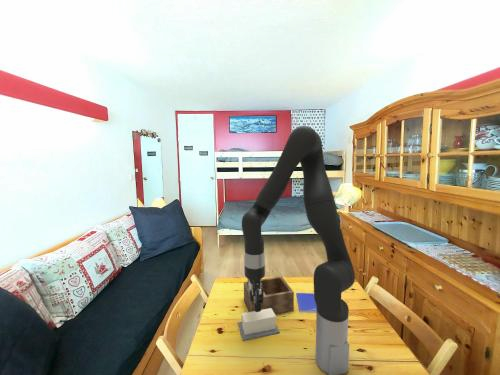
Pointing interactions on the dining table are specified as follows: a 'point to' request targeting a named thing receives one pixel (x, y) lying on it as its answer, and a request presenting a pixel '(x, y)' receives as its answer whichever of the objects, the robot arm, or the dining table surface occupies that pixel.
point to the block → (258, 321)
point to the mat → (256, 335)
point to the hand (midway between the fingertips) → (255, 305)
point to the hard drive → (306, 302)
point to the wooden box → (272, 296)
